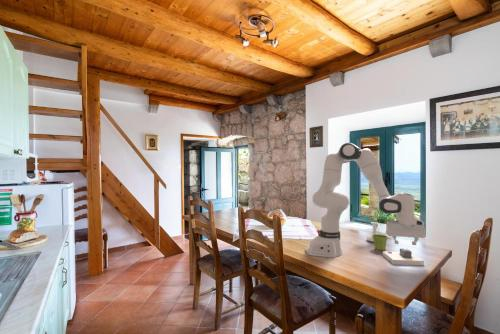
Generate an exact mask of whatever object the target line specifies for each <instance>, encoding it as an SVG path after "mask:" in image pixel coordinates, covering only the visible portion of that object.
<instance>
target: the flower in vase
mask: <svg viewBox="0 0 500 334" xmlns="http://www.w3.org/2000/svg"><path fill="white" fill-rule="evenodd" d="M373 213H374V208H372V207H368V208H366V209H365V210H364V211H363V215H364V216H366V217H369V216H370V217H369V218H367V219H365V221H367V222H370V224H371V225H372V233H370V234H369V235H367V236H366V237H365V238H366V240H367V241H369V242H372V243H374V239H373V237H372V235H374V234H378V233H377V226H378V225H379V222H377V221H378V217H375V218H372V214H373Z"/></svg>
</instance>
